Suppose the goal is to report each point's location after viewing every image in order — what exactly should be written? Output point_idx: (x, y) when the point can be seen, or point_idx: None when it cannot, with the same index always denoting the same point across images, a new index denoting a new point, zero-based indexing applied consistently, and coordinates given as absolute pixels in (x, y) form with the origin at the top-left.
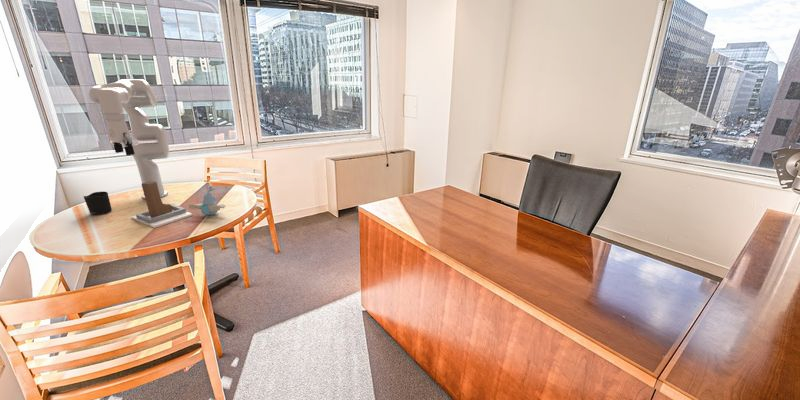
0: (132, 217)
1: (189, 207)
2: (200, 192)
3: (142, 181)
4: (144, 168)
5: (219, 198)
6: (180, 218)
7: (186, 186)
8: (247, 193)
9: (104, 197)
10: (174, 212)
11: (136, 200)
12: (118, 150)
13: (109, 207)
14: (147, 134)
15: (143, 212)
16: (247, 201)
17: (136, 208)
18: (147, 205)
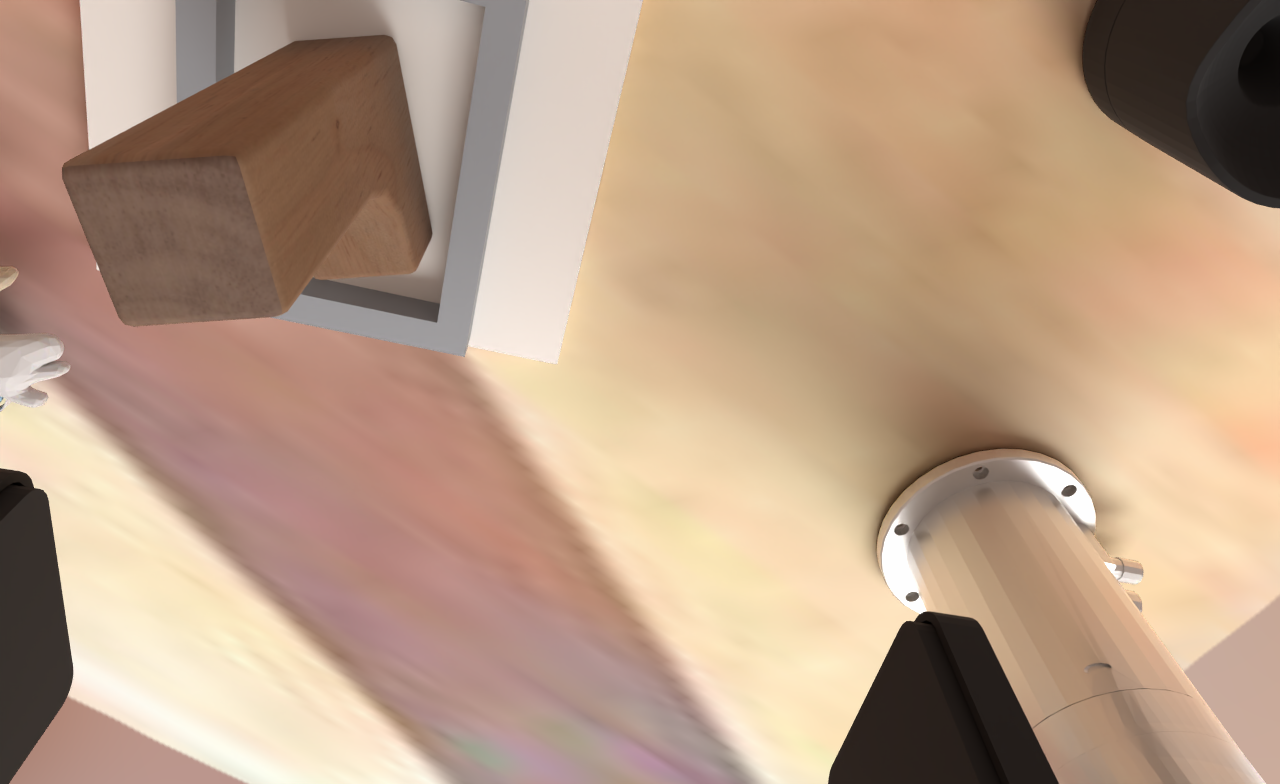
0: None
1: (8, 272)
2: (640, 688)
3: (1100, 597)
4: (1110, 753)
5: (333, 635)
6: (95, 143)
7: None
8: (227, 766)
9: (1180, 86)
10: None
11: (1069, 398)
12: (904, 741)
13: (1103, 85)
14: None
15: (508, 63)
16: None
17: (873, 236)
18: (343, 62)
